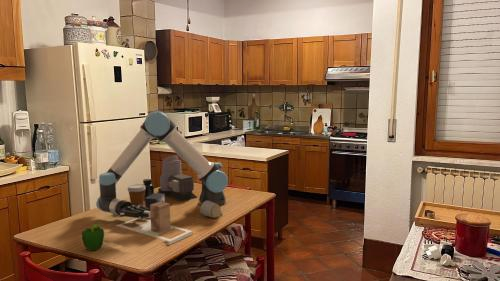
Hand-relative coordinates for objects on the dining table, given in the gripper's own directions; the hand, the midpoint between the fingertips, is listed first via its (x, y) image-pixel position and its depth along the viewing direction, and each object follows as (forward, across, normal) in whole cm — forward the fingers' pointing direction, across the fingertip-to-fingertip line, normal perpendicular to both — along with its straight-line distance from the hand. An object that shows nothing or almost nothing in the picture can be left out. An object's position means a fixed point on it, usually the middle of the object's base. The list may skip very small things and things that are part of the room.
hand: (154, 216), depth 171 cm
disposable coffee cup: (-37, -20, -8) cm, 43 cm away
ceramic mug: (+8, -32, -8) cm, 33 cm away
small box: (-18, -16, -8) cm, 25 cm away
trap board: (-1, 0, -8) cm, 8 cm away
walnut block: (+3, 0, -6) cm, 7 cm away
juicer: (-37, -50, -8) cm, 63 cm away
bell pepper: (-8, +26, -8) cm, 28 cm away
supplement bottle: (-43, -34, -8) cm, 56 cm away
